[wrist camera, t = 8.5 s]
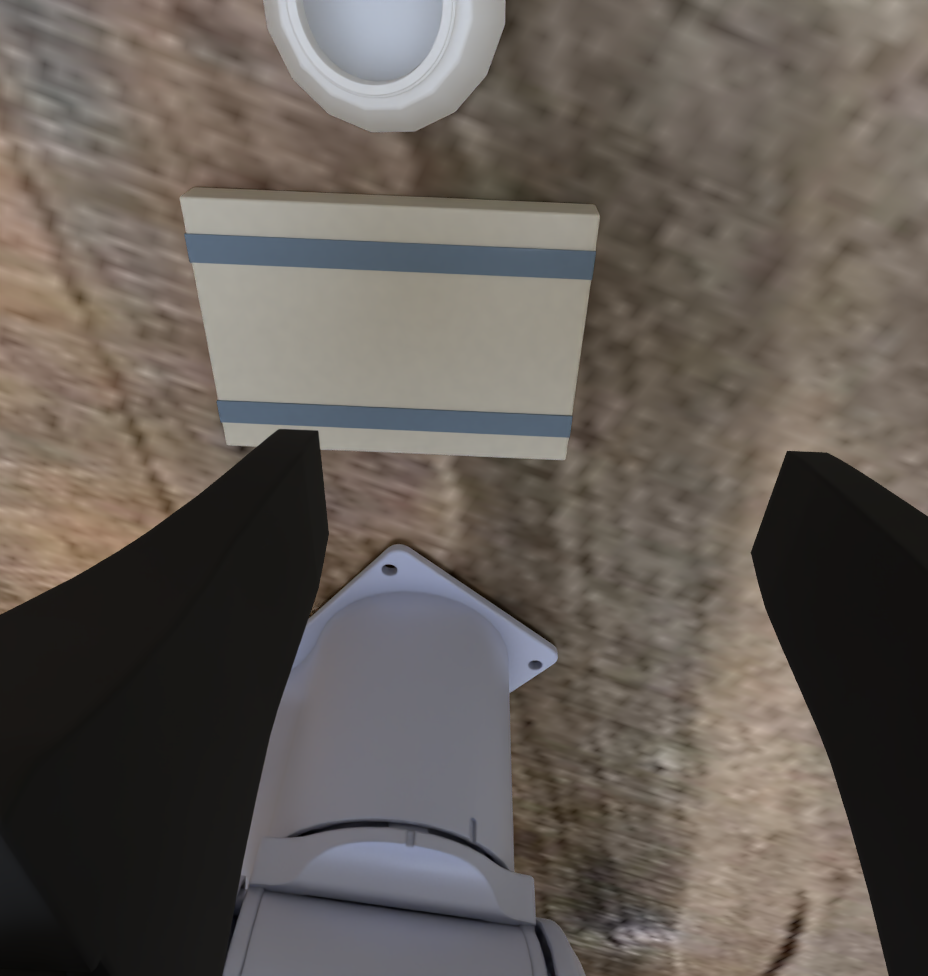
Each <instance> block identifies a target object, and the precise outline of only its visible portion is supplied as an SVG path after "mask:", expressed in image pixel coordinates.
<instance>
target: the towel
mask: <svg viewBox="0 0 928 976" xmlns="http://www.w3.org/2000/svg"><path fill="white" fill-rule="evenodd" d="M180 203H181V208H182V214H183V219H184V224H185V229H186V233H185V234H184V235H185V240H186V245H187V250H188V256H189V261H190V263H192V266H193V271H194V276H195V282H196V287H197V292H198V297H199V302H200V308H201V313H202V318H203V323H204V329H205V334H206V339H207V344H208V349H209V355H210V360H211V365H212V370H213V376H214V381H215V386H216V391H217V397H218V400H217V406H218V411H219V416H220V421H221V422H222V423H223V428H224V433H225V438H226V444H227V445H230V446H253V447H257V446H258V445H260V444H261V443H262V442H263V441H264V440H265V439H267V438H268V437H269V436H270V435H272V434H273V433H274V432H275V431H277V430H278V429H296V430H318V432H319V442H320V449H321V450H344V451H366V452H389V453H411V454H434V455H457V456H479V457H502V458H525V459H547V460H565V459H566V455H567V448H568V440H569V438H570V431H571V424H572V417H573V416H572V412H573V405H574V398H575V391H576V384H577V377H578V370H579V363H580V356H581V349H582V342H583V334H584V327H585V320H586V313H587V306H588V299H589V292H590V285H591V280H592V277H593V270H594V263H595V256H596V251H595V250H596V243H597V236H598V229H599V221H600V215H599V213H598V210H597V208H596V206H595V205H594V204H576V203H552V202H529V201H506V200H483V199H459V198H436V197H413V196H390V195H366V194H343V193H320V192H297V191H273V190H250V189H227V188H204V187H193V188H192V189H190V190H189V191H187V192H186V193H185V194H183V195H182V196H181V197H180Z"/></svg>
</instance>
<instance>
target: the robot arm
mask: <svg viewBox="0 0 928 976" xmlns="http://www.w3.org/2000/svg"><path fill="white" fill-rule="evenodd" d="M328 535H329V531H328V521H327V511H326V501H325V492H324V482H323V472H322V462H321V452H320V442H319V432H318V430H296V429H278V430H277V431H275V432H274V433H273V434H272V435H270V436H269V437H268V438H267V439H265V440H264V441H263V442H262V443H261V444H260V445H258V446H257V447H256V448H255V449H254V450H252V451H251V452H250V453H249V454H248V455H247V456H245V457H244V458H243V459H242V460H241V461H240V462H238V463H237V464H236V465H235V466H234V467H232V468H231V469H230V470H229V471H227V472H226V473H225V474H224V475H223V476H221V477H220V478H219V479H218V480H216V481H215V482H214V483H213V484H212V485H210V486H209V487H208V488H207V489H205V490H204V491H203V492H202V493H200V494H199V495H198V496H197V497H195V498H194V499H192V500H191V501H190V502H188V503H187V504H186V505H184V506H183V507H182V508H180V509H179V510H177V511H176V512H175V513H173V514H172V515H171V516H169V517H168V518H166V519H165V520H164V521H162V522H161V523H160V524H158V525H157V526H155V527H154V528H153V529H151V530H150V531H149V532H147V533H146V534H144V535H143V536H141V537H140V538H138V539H137V540H135V541H134V542H132V543H131V544H129V545H127V546H126V547H124V548H123V549H121V550H120V551H118V552H116V553H115V554H113V555H111V556H110V557H108V558H106V559H105V560H103V561H101V562H100V563H98V564H96V565H95V566H93V567H91V568H89V569H88V570H86V571H84V572H83V573H81V574H79V575H77V576H75V577H74V578H72V579H70V580H68V581H66V582H64V583H62V584H60V585H58V586H56V587H54V588H52V589H50V590H48V591H46V592H44V593H42V594H41V595H39V596H37V597H35V598H33V599H31V600H29V601H27V602H25V603H23V604H21V605H19V606H17V607H15V608H13V609H11V610H9V611H7V612H5V613H3V614H1V615H0V976H585V973H584V970H583V968H582V965H581V963H580V961H579V959H578V957H577V956H576V954H575V953H574V951H573V949H572V948H571V946H570V943H569V941H568V939H567V937H566V936H565V934H564V932H563V931H562V929H561V928H560V926H558V925H557V924H556V923H555V922H554V921H552V920H549V919H544V918H537V917H536V913H535V893H534V878H533V877H531V876H529V875H524V874H519V873H516V872H514V844H513V808H512V772H511V736H510V700H509V693H511V692H512V691H514V690H515V689H517V688H518V687H520V686H521V685H523V684H524V683H526V682H527V681H529V680H530V679H532V678H533V677H535V676H536V675H538V674H539V673H541V672H542V671H544V670H545V669H547V668H548V667H550V666H551V665H553V664H554V663H555V662H556V661H557V659H558V653H557V648H556V647H555V646H554V645H553V644H551V643H550V642H548V641H547V640H546V639H544V638H543V637H541V636H540V635H538V634H537V633H535V632H534V631H532V630H531V629H529V628H528V627H526V626H525V625H523V624H522V623H520V622H519V621H517V620H516V619H515V618H513V617H512V616H510V615H509V614H507V613H506V612H504V611H503V610H501V609H500V608H498V607H497V606H495V605H494V604H492V603H491V602H489V601H488V600H486V599H485V598H483V597H482V596H481V595H479V594H478V593H476V592H475V591H473V590H472V589H470V588H469V587H467V586H466V585H464V584H463V583H461V582H460V581H458V580H457V579H455V578H454V577H452V576H451V575H450V574H448V573H447V572H445V571H444V570H442V569H441V568H439V567H438V566H436V565H435V564H433V563H432V562H430V561H429V560H427V559H426V558H424V557H423V556H421V555H420V554H418V553H417V552H416V551H414V550H413V549H411V548H410V547H408V546H406V545H402V544H396V545H392V546H390V547H388V548H387V549H386V550H385V551H384V552H383V553H382V554H381V555H379V556H378V557H377V558H376V559H375V560H374V561H373V562H372V563H370V564H369V565H368V566H367V567H366V568H365V569H364V570H363V571H361V572H360V573H359V574H358V575H357V576H356V577H355V578H354V579H352V580H351V581H350V582H349V583H348V584H347V585H346V586H345V587H344V588H342V589H341V590H340V591H339V592H338V593H337V594H336V595H335V596H333V597H332V598H331V599H330V600H329V601H328V602H327V603H326V604H324V605H323V606H322V607H321V608H320V609H319V610H318V611H317V612H316V613H314V614H313V615H312V616H311V617H310V618H309V615H310V612H311V609H312V606H313V603H314V600H315V597H316V594H317V591H318V588H319V583H320V578H321V573H322V568H323V563H324V557H325V552H326V546H327V541H328ZM751 555H752V559H753V563H754V567H755V572H756V576H757V580H758V584H759V587H760V591H761V594H762V598H763V601H764V605H765V608H766V611H767V613H768V616H769V618H770V621H771V623H772V625H773V628H774V630H775V632H776V635H777V637H778V640H779V642H780V644H781V647H782V649H783V651H784V654H785V656H786V658H787V660H788V663H789V665H790V667H791V670H792V672H793V674H794V676H795V679H796V681H797V683H798V686H799V688H800V690H801V692H802V695H803V697H804V699H805V702H806V704H807V706H808V708H809V711H810V713H811V715H812V718H813V720H814V722H815V724H816V727H817V729H818V731H819V734H820V736H821V739H822V742H823V744H824V747H825V749H826V752H827V755H828V757H829V760H830V763H831V766H832V769H833V772H834V775H835V779H836V782H837V785H838V788H839V791H840V795H841V798H842V801H843V804H844V808H845V811H846V814H847V817H848V820H849V824H850V827H851V831H852V834H853V838H854V842H855V845H856V849H857V852H858V856H859V860H860V863H861V867H862V870H863V874H864V878H865V881H866V885H867V888H868V892H869V896H870V900H871V904H872V908H873V912H874V917H875V921H876V925H877V929H878V933H879V937H880V941H881V945H882V950H883V954H884V958H885V962H886V966H887V970H888V974H889V976H928V516H926V515H925V514H923V513H922V512H920V511H919V510H917V509H916V508H914V507H913V506H911V505H910V504H908V503H907V502H905V501H904V500H902V499H901V498H899V497H898V496H896V495H895V494H893V493H892V492H890V491H889V490H887V489H886V488H884V487H883V486H881V485H880V484H878V483H877V482H875V481H874V480H872V479H871V478H869V477H868V476H866V475H864V474H863V473H861V472H860V471H858V470H857V469H855V468H853V467H852V466H850V465H848V464H847V463H845V462H843V461H842V460H840V459H838V458H836V457H834V456H832V455H831V454H829V453H822V452H799V451H787V453H786V455H785V458H784V461H783V464H782V467H781V469H780V472H779V475H778V478H777V481H776V483H775V486H774V489H773V492H772V495H771V497H770V500H769V503H768V506H767V509H766V511H765V514H764V517H763V520H762V523H761V525H760V528H759V531H758V534H757V537H756V539H755V542H754V545H753V548H752V551H751ZM386 564H391V565H394V566H395V567H394V568H388V567H386V566H385V565H386ZM308 618H309V619H308ZM536 660H537V661H536Z"/></svg>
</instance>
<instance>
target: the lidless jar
mask: <svg viewBox="0 0 928 976" xmlns="http://www.w3.org/2000/svg"><path fill="white" fill-rule="evenodd" d="M263 4H264V10H265V17H266V23H267V29H268V31H269V33H270V35H271V37H272V39H273V41H274V43H275V45H276V47H277V49H278V51H279V53H280V55H281V57H282V59H283V61H284V63H285V65H286V67H287V69H288V71H289V73H290V75H291V77H292V79H293V80H294V81H295V82H296V83H297V84H298V85H299V86H300V87H301V88H302V89H303V90H304V91H305V92H306V93H307V94H308V95H309V96H310V97H311V98H313V99H314V100H315V101H316V102H317V103H318V104H319V105H320V106H321V107H322V108H323V109H324V110H325V111H326V112H327V113H328V114H329V115H332V116H334V117H336V118H339V119H341V120H343V121H346V122H348V123H350V124H353V125H355V126H357V127H360V128H362V129H364V130H367V131H369V132H415V131H417V130H419V129H421V128H423V127H426V126H428V125H430V124H432V123H434V122H436V121H438V120H440V119H442V118H444V117H446V116H448V115H450V114H452V113H454V112H456V111H457V109H458V108H459V107H460V106H461V105H462V104H463V102H464V101H465V100H466V99H467V98H468V97H469V95H470V94H471V93H472V92H473V91H474V90H475V88H476V87H477V86H478V85H479V84H480V82H481V81H482V80H483V79H484V78H485V77H486V75H487V73H488V71H489V68H490V65H491V62H492V59H493V57H494V54H495V51H496V48H497V45H498V43H499V40H500V37H501V34H502V31H503V29H504V26H505V0H263Z"/></svg>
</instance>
